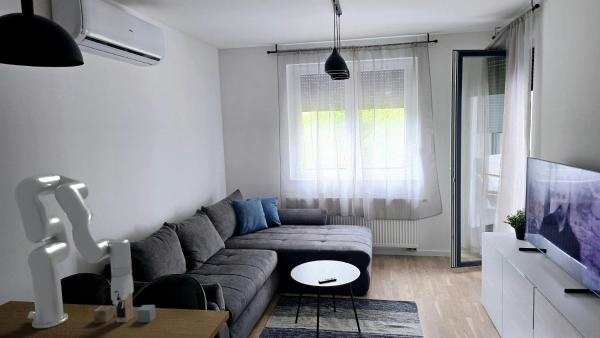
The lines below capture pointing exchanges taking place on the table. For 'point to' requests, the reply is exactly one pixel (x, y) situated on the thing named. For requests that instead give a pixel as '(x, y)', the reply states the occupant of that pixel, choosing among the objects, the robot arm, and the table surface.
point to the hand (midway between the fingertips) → (124, 313)
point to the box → (127, 309)
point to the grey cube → (146, 313)
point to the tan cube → (103, 314)
